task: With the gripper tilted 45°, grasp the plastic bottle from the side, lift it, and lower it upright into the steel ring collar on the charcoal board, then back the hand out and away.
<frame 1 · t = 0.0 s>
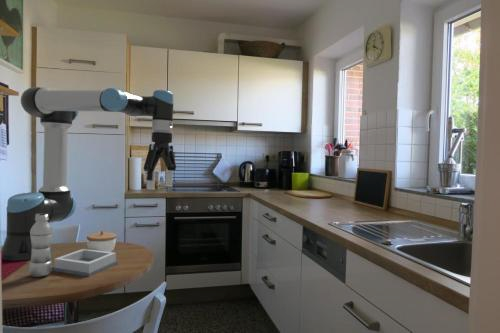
hand: (160, 188, 133), 28 cm above the table, tool pointing down, fingers open, 13 cm apart
lidded jar: (101, 255, 139), on the table
plastic bottle: (40, 276, 114), on the table
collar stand: (86, 266, 124), on the table
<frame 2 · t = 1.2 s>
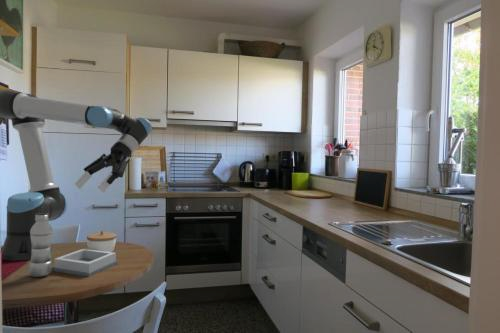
hand: (88, 188, 127), 28 cm above the table, tool tilted 45°, fingers open, 13 cm apart
nothing on the table moved.
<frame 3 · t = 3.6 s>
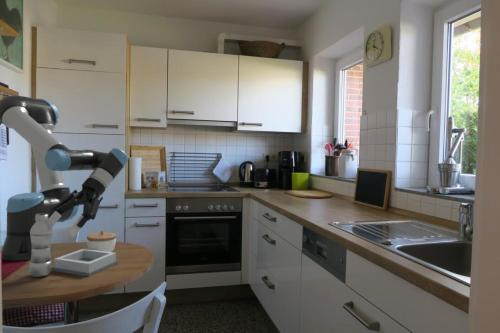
hand: (57, 232, 116), 14 cm above the table, tool tilted 45°, fingers open, 13 cm apart
nothing on the table moved.
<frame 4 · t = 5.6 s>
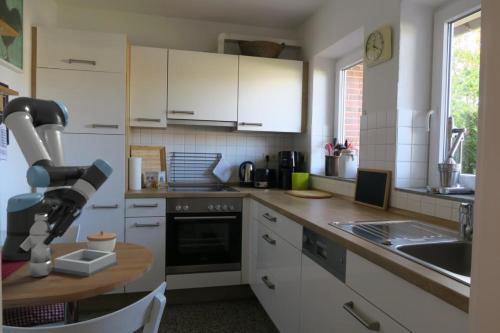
hand: (29, 250, 110), 9 cm above the table, tool tilted 45°, fingers closed on plastic bottle, 6 cm apart
plastic bottle: (40, 276, 114), on the table, touching gripper
everything else where it was.
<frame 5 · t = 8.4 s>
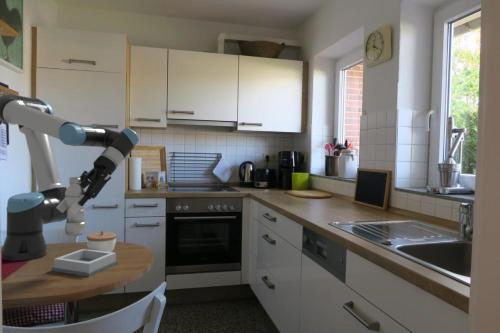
hand: (65, 211, 117), 21 cm above the table, tool tilted 45°, fingers closed on plastic bottle, 6 cm apart
plastic bottle: (75, 236, 120), point 12 cm above the table, touching gripper
everything else where it was.
when the fingers open (11 cm above the table, at t = 11.2 s): plastic bottle drops 1 cm, resting on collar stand.
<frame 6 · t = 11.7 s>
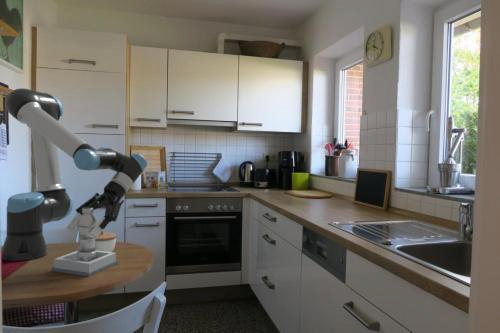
hand: (80, 232, 122), 13 cm above the table, tool tilted 45°, fingers open, 13 cm apart
plastic bottle: (86, 264, 124), point 1 cm above the table, touching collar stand
everything else where it was.
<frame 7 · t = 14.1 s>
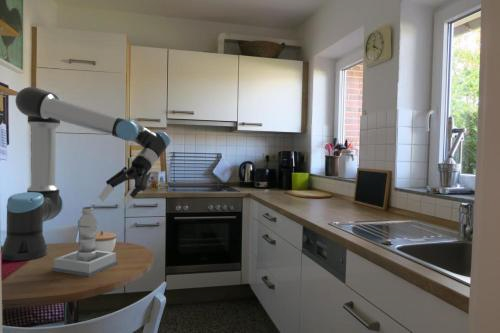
hand: (112, 201, 132), 22 cm above the table, tool tilted 45°, fingers open, 13 cm apart
nothing on the table moved.
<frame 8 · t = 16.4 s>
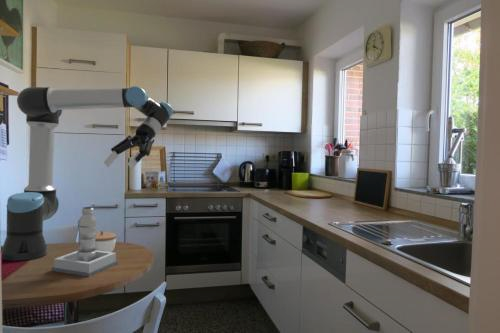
hand: (117, 165, 136), 36 cm above the table, tool tilted 45°, fingers open, 13 cm apart
nothing on the table moved.
at the end: plastic bottle 0.1 cm off-centre on the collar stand, point 0.8 cm above the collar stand's base; plastic bottle tilted 0°; the gripper is holding nothing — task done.
